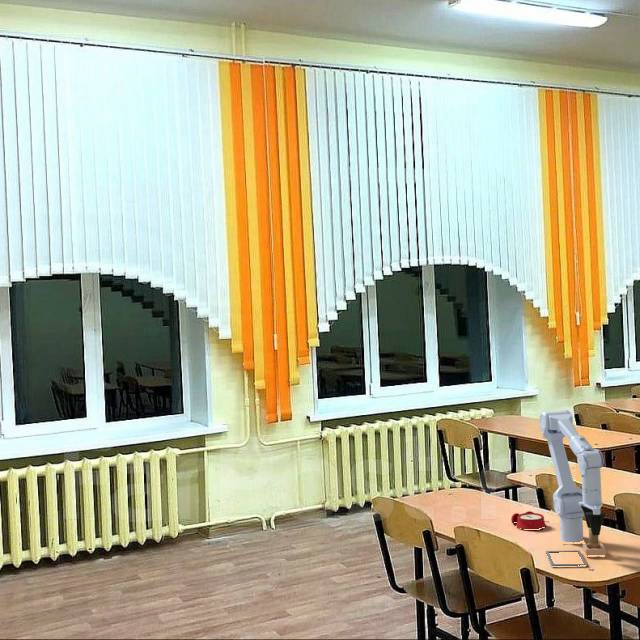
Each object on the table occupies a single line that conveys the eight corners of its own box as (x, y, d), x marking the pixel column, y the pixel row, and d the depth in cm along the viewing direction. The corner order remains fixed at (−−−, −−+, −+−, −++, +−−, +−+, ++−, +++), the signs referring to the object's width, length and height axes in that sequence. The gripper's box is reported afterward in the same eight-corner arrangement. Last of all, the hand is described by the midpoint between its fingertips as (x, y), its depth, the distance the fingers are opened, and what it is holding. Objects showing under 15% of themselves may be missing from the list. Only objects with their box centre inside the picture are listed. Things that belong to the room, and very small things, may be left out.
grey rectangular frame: (545, 554, 273) (545, 550, 273) (579, 554, 271) (579, 550, 271) (551, 568, 259) (551, 565, 259) (587, 568, 258) (587, 564, 258)
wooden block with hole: (583, 552, 272) (582, 543, 272) (602, 552, 272) (602, 543, 271) (586, 559, 266) (586, 549, 266) (606, 558, 266) (605, 549, 265)
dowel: (589, 553, 270) (588, 528, 270) (598, 553, 270) (597, 528, 270) (590, 556, 268) (589, 530, 267) (599, 555, 267) (598, 530, 267)
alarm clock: (527, 523, 296) (505, 504, 310) (526, 540, 297) (504, 520, 311) (553, 519, 299) (530, 500, 313) (551, 535, 301) (529, 516, 314)
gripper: (574, 483, 276) (576, 525, 276) (582, 494, 261) (584, 538, 262) (597, 483, 275) (599, 524, 275) (606, 494, 261) (608, 537, 261)
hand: (593, 531), depth 269 cm, fingers open, 7 cm apart
